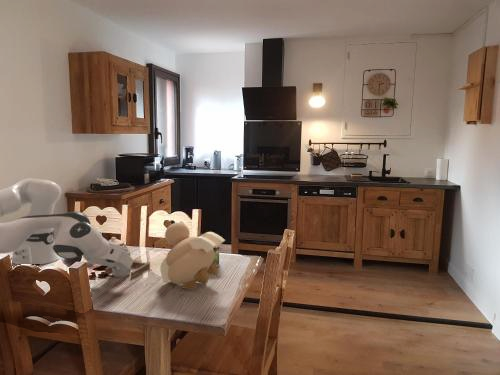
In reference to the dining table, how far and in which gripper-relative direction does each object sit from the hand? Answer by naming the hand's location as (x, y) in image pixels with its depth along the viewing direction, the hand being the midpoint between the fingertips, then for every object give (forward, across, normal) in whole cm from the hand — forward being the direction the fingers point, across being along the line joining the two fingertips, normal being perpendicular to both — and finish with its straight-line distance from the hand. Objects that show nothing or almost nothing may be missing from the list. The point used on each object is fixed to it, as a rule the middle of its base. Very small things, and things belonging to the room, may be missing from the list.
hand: (116, 267), depth 158 cm
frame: (+9, -1, +3) cm, 10 cm away
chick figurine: (+5, +32, -2) cm, 33 cm away
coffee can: (+24, +29, +18) cm, 42 cm away
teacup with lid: (+18, -15, +11) cm, 26 cm away
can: (+6, -1, 0) cm, 7 cm away
